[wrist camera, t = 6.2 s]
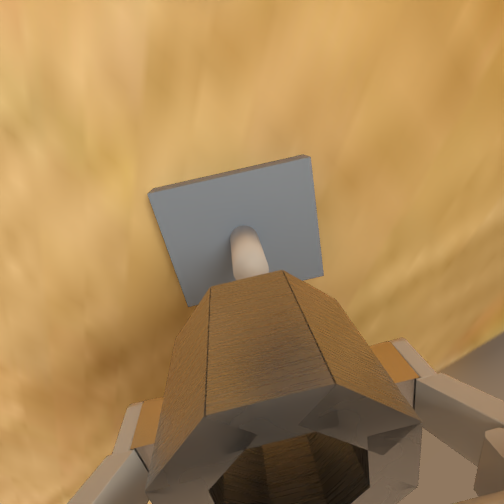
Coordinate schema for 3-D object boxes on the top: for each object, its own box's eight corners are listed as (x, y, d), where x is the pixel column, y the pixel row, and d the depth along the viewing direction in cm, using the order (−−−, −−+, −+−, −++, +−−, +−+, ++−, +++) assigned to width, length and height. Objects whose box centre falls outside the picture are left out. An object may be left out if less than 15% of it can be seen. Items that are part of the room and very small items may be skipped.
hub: (332, 257, 10) (427, 360, 6) (344, 382, 13) (415, 522, 8) (158, 298, 10) (109, 439, 5) (206, 416, 13) (200, 577, 8)
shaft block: (303, 154, 22) (340, 166, 15) (316, 265, 26) (350, 313, 19) (153, 188, 22) (123, 215, 15) (190, 294, 26) (180, 353, 19)
